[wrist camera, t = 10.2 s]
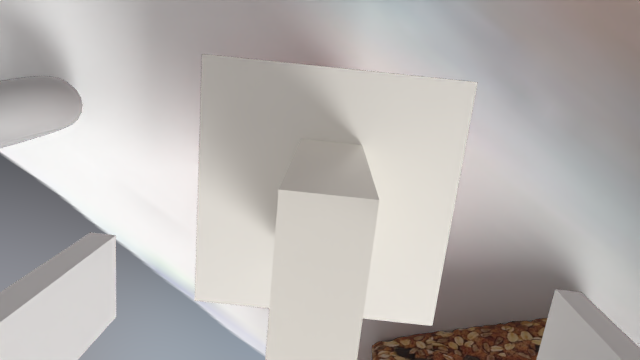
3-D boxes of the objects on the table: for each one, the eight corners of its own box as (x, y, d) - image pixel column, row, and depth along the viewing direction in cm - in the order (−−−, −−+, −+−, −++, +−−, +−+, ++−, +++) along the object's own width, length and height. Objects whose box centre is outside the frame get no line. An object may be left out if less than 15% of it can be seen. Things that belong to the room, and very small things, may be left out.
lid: (470, 81, 22) (577, 98, 12) (428, 314, 26) (485, 473, 16) (208, 54, 22) (108, 49, 12) (200, 289, 26) (116, 432, 16)
